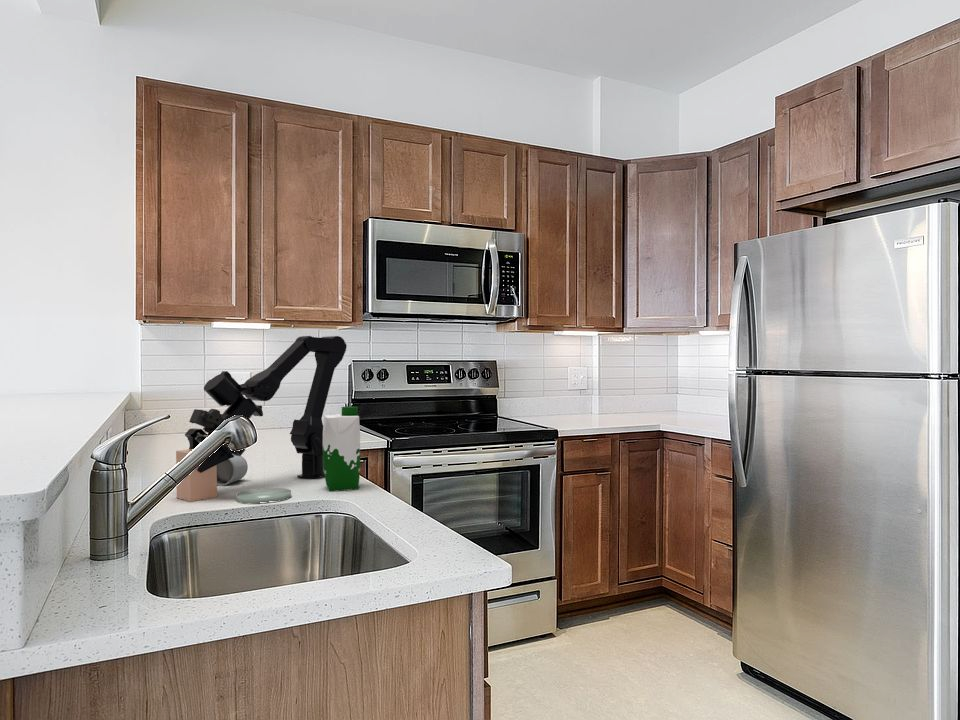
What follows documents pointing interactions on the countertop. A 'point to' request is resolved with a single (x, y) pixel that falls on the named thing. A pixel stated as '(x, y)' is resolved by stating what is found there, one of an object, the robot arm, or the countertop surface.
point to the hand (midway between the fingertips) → (190, 470)
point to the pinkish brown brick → (197, 482)
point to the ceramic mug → (231, 470)
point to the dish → (263, 495)
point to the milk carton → (342, 449)
